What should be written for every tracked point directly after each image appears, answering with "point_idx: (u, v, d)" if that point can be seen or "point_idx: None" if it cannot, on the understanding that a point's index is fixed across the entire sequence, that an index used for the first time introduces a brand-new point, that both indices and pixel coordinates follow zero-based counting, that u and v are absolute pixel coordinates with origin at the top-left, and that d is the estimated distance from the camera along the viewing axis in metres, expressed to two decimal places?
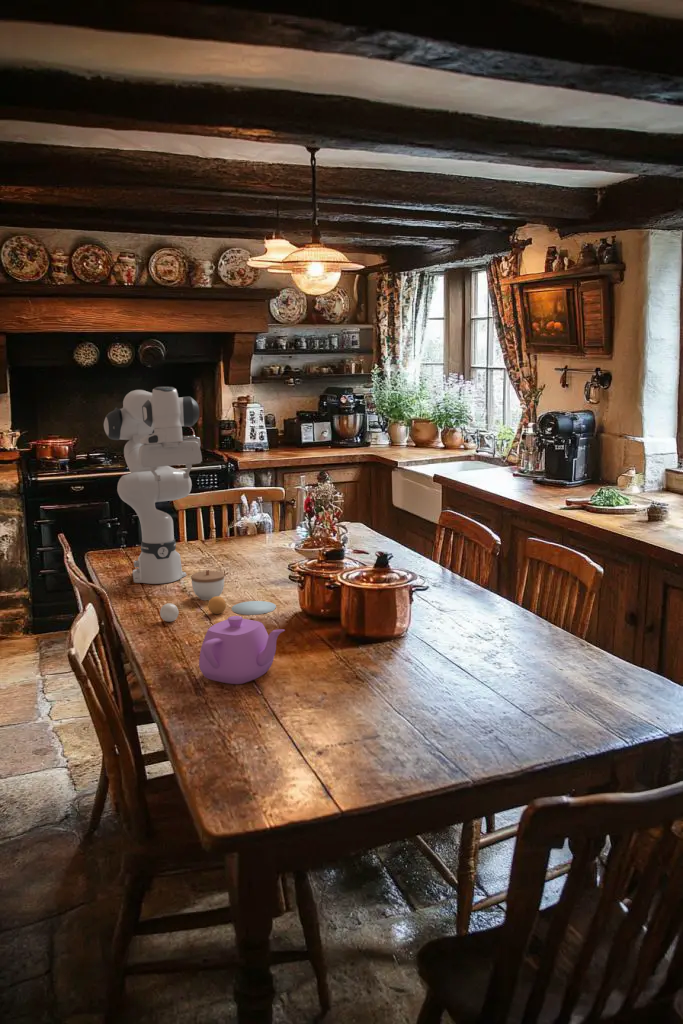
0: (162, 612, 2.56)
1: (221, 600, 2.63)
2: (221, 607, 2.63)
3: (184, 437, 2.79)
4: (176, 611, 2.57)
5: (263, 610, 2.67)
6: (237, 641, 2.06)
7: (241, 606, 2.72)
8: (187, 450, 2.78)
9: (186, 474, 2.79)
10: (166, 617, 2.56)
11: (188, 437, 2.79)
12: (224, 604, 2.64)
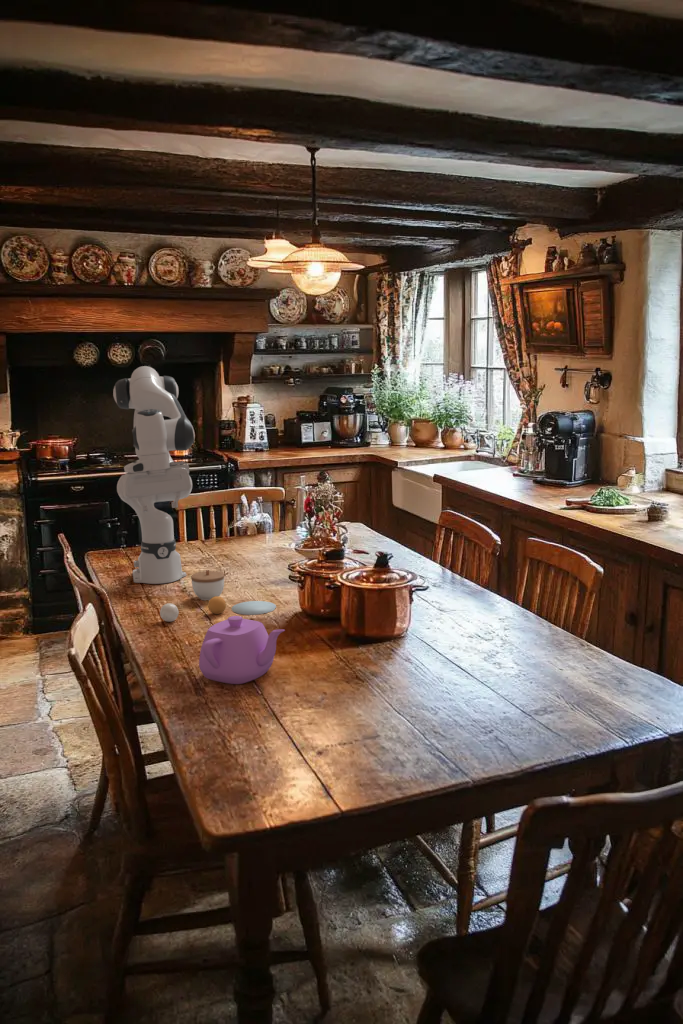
0: (162, 612, 2.56)
1: (221, 600, 2.63)
2: (221, 607, 2.63)
3: (171, 463, 2.59)
4: (176, 611, 2.57)
5: (263, 610, 2.67)
6: (237, 641, 2.06)
7: (241, 606, 2.72)
8: (175, 478, 2.58)
9: (175, 503, 2.60)
10: (166, 617, 2.56)
11: (176, 463, 2.59)
12: (224, 604, 2.64)
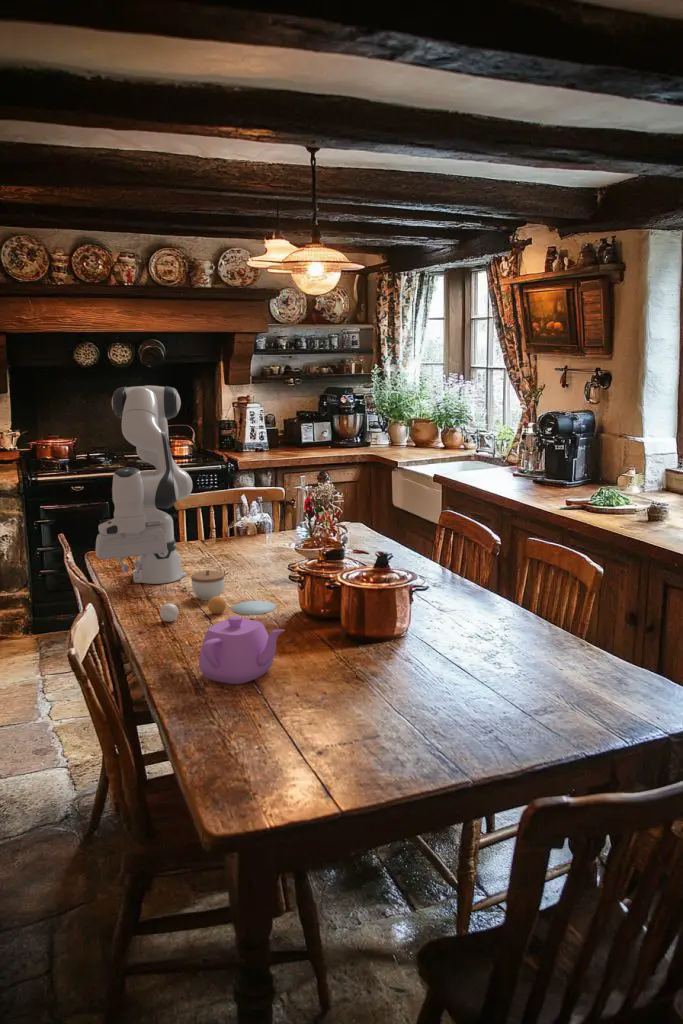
0: (162, 612, 2.56)
1: (221, 600, 2.63)
2: (221, 607, 2.63)
3: (148, 524, 2.51)
4: (176, 611, 2.57)
5: (263, 610, 2.67)
6: (237, 641, 2.06)
7: (241, 606, 2.72)
8: (150, 539, 2.51)
9: (140, 565, 2.51)
10: (166, 617, 2.56)
11: (152, 524, 2.51)
12: (224, 604, 2.64)
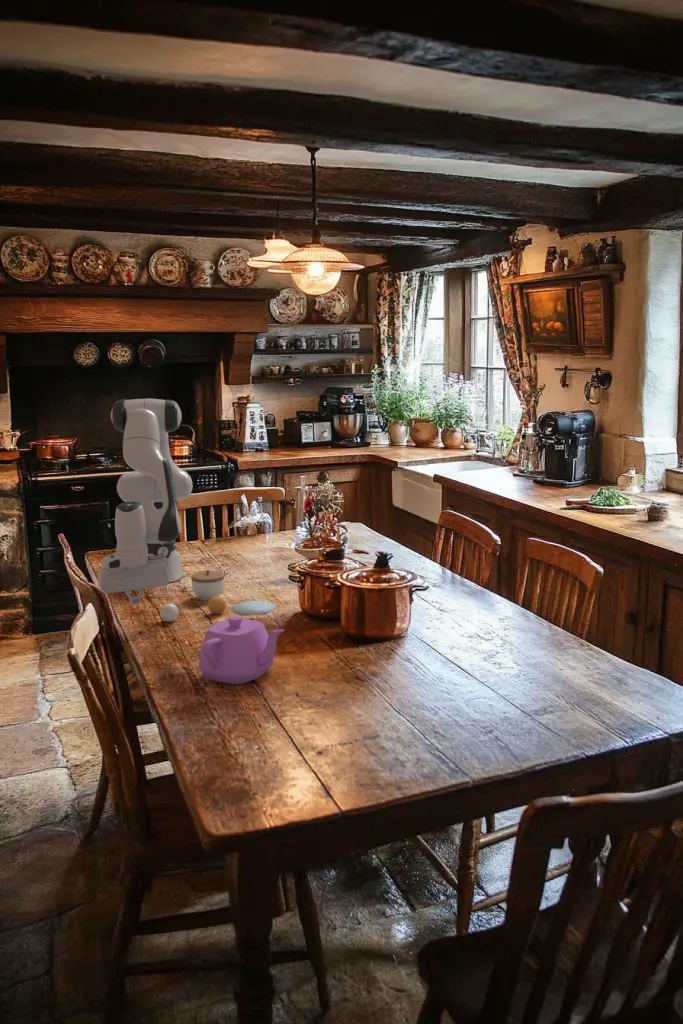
0: (162, 612, 2.56)
1: (221, 600, 2.63)
2: (221, 607, 2.63)
3: (150, 557, 2.52)
4: (176, 611, 2.57)
5: (263, 610, 2.67)
6: (237, 641, 2.06)
7: (241, 606, 2.72)
8: (152, 573, 2.52)
9: (137, 599, 2.52)
10: (166, 617, 2.56)
11: (154, 557, 2.53)
12: (224, 604, 2.64)
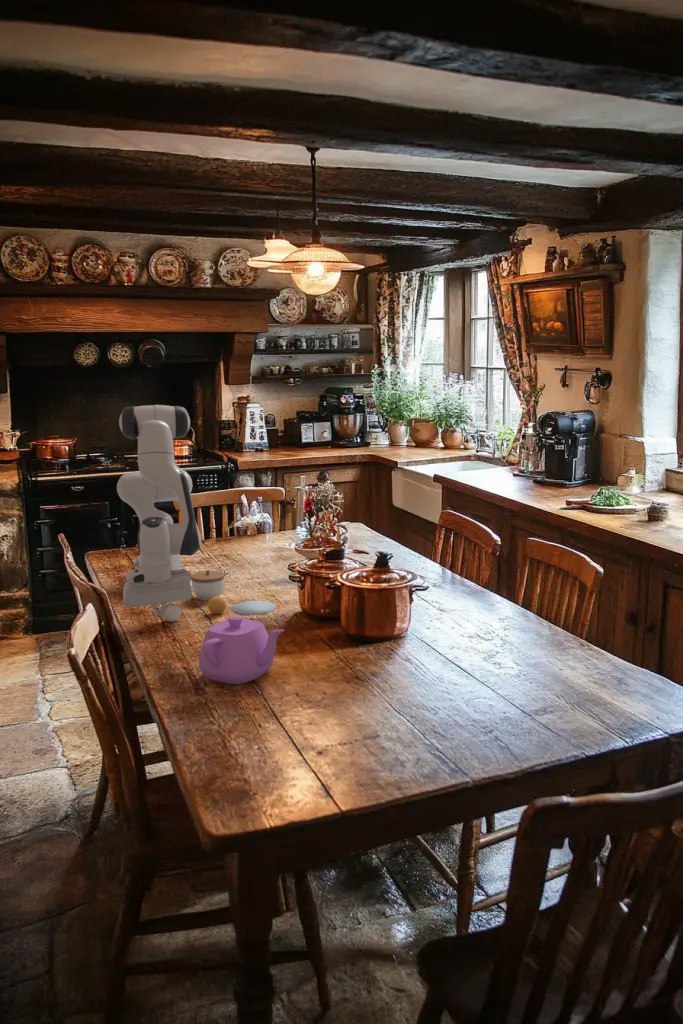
0: (165, 611, 2.56)
1: (221, 600, 2.63)
2: (221, 607, 2.63)
3: (173, 572, 2.56)
4: (179, 612, 2.57)
5: (263, 610, 2.67)
6: (237, 641, 2.06)
7: (241, 606, 2.72)
8: (176, 587, 2.56)
9: (160, 613, 2.56)
10: (168, 616, 2.56)
11: (178, 572, 2.57)
12: (224, 604, 2.64)
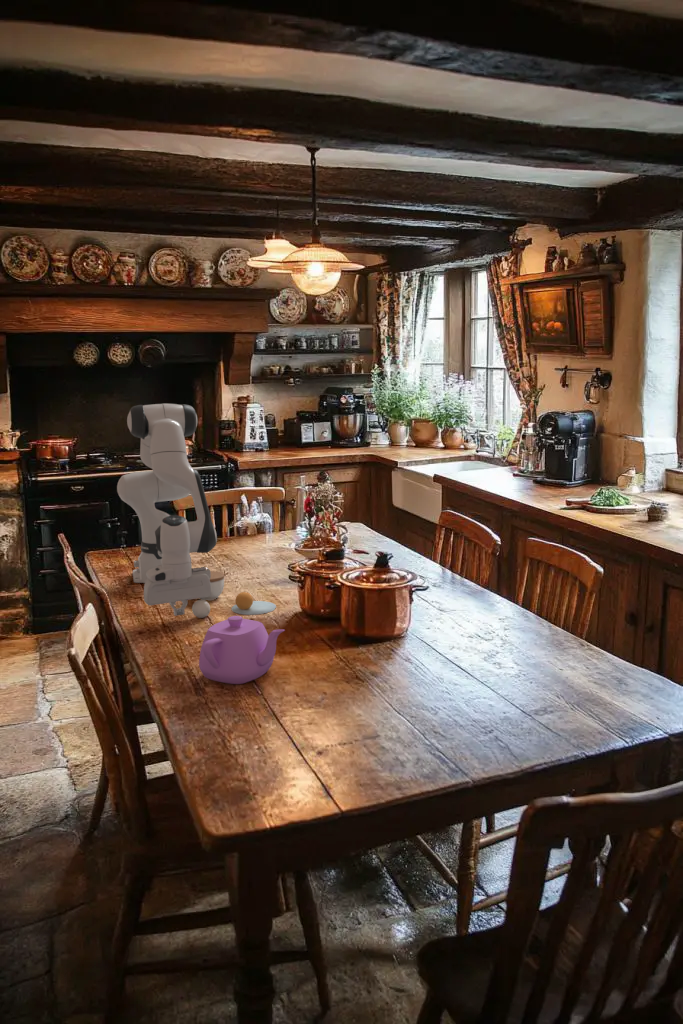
0: None
1: (243, 608, 2.67)
2: (246, 602, 2.66)
3: (193, 570, 2.59)
4: (196, 614, 2.59)
5: (263, 610, 2.67)
6: (237, 641, 2.06)
7: None
8: (196, 584, 2.59)
9: (181, 610, 2.59)
10: (207, 609, 2.60)
11: (198, 569, 2.60)
12: (241, 604, 2.66)
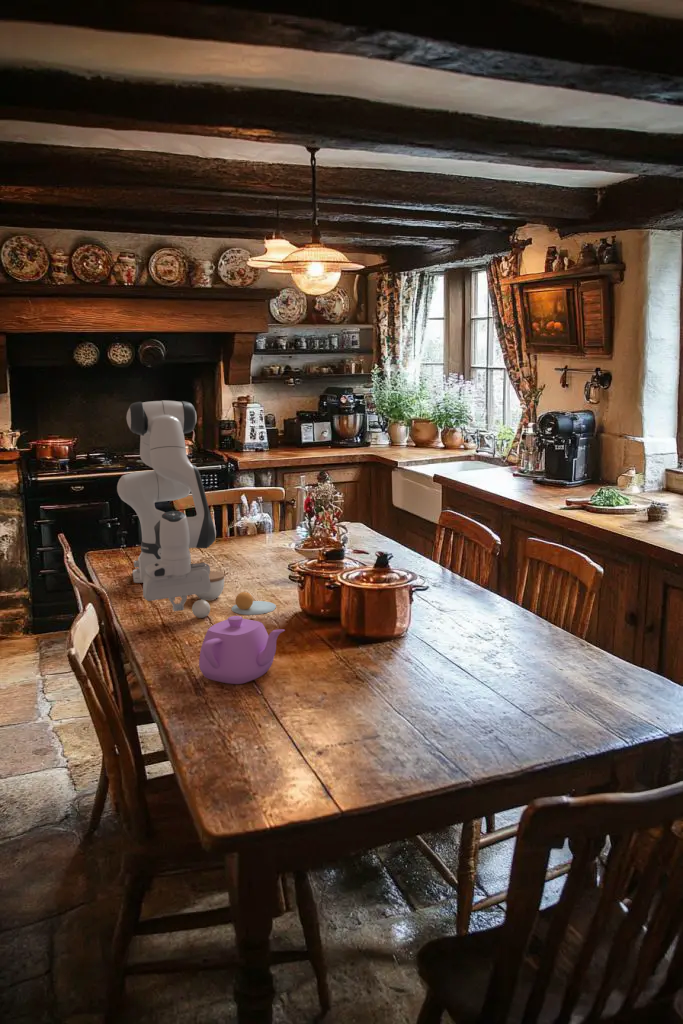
0: None
1: (243, 608, 2.67)
2: (246, 602, 2.66)
3: (193, 565, 2.59)
4: (196, 614, 2.59)
5: (263, 610, 2.67)
6: (237, 641, 2.06)
7: None
8: (195, 580, 2.59)
9: (181, 606, 2.59)
10: (207, 609, 2.60)
11: (197, 565, 2.60)
12: (241, 604, 2.66)
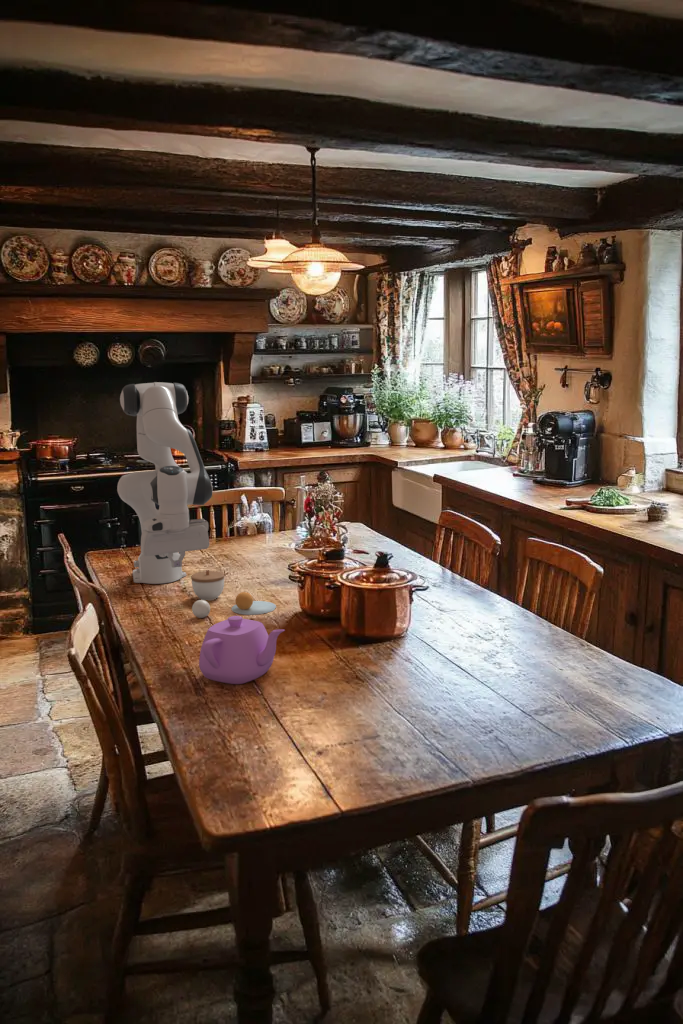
0: None
1: (243, 608, 2.67)
2: (246, 602, 2.66)
3: (191, 521, 2.56)
4: (196, 614, 2.59)
5: (263, 610, 2.67)
6: (237, 641, 2.06)
7: None
8: (193, 536, 2.56)
9: (179, 562, 2.56)
10: (207, 609, 2.60)
11: (195, 521, 2.57)
12: (241, 604, 2.66)
